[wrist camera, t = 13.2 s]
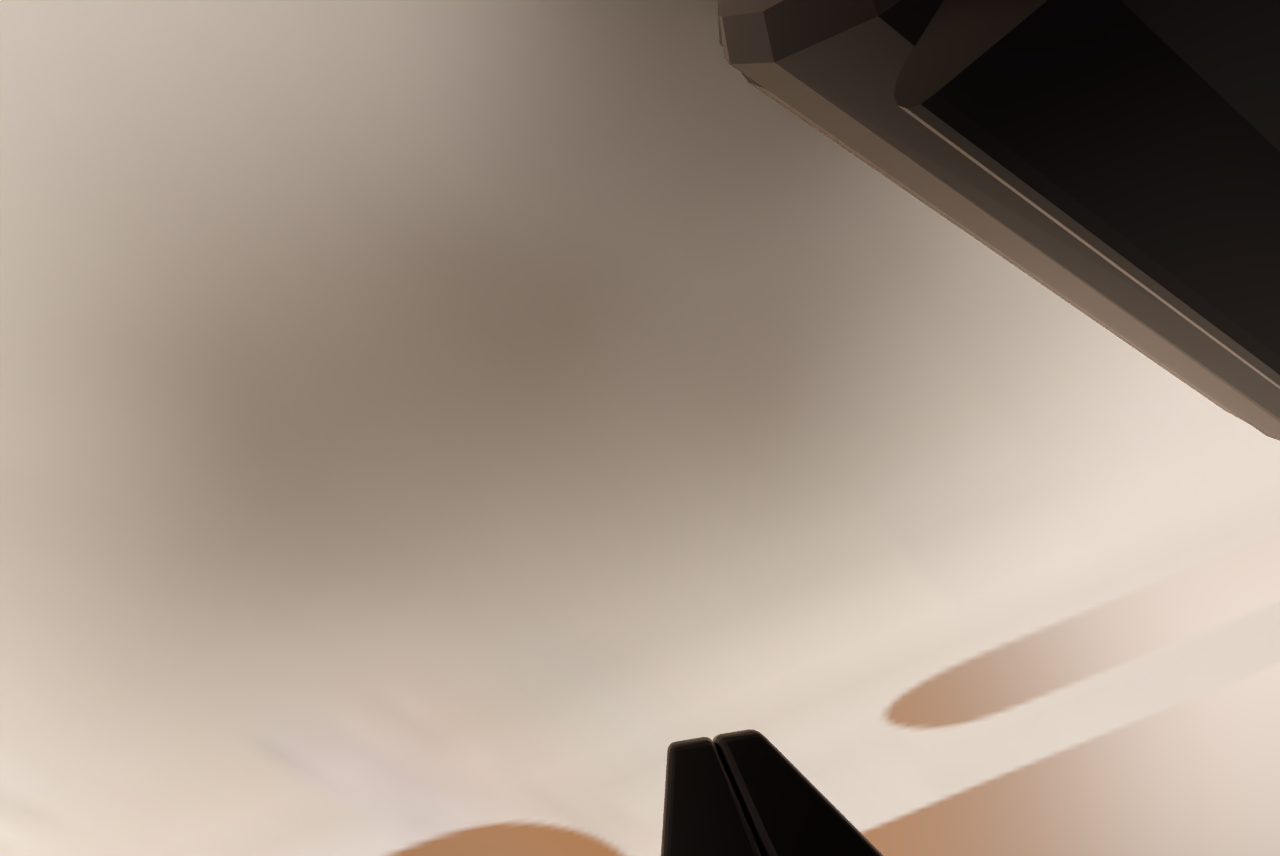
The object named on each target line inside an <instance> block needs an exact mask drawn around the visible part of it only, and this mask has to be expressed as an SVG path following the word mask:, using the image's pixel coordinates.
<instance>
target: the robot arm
mask: <svg viewBox="0 0 1280 856" xmlns="http://www.w3.org/2000/svg"><path fill="white" fill-rule="evenodd" d="M718 15H719V36H720V44H721V45H722V47H723V52H724V58H725V59H726V60H727V62H728V63H729V64H730V65H732V66H733V67H735V68H736V69H738V70H739V71H741V72H742V74H743V75H744V76H745V78H746V79H747V80H748V82H749V83H751V84H752V85H753V86H755V87H756V88H758V89H759V90H761V91H762V92H764V93H765V94H767V95H768V96H769V97H771V98H772V99H774V100H775V101H777V102H778V103H780V104H781V105H782V106H784V107H785V108H787V109H788V110H790V111H791V112H793V113H794V114H796V115H797V116H798V117H800V118H801V119H803V120H804V121H806V122H807V123H809V124H810V125H812V126H813V127H814V128H816V129H817V130H819V131H820V132H822V133H823V134H825V135H826V136H827V137H829V138H830V139H832V140H833V141H835V142H836V143H838V144H839V145H841V146H842V147H843V148H845V149H846V150H848V151H849V152H851V153H852V154H854V155H855V156H856V157H858V158H859V159H861V160H862V161H864V162H865V163H867V164H868V165H870V166H871V167H872V168H874V169H875V170H877V171H878V172H880V173H881V174H883V175H884V176H885V177H887V178H888V179H890V180H891V181H893V182H894V183H896V184H897V185H899V186H900V187H901V188H903V189H904V190H906V191H907V192H909V193H910V194H912V195H913V196H915V197H916V198H917V199H919V200H920V201H922V202H923V203H925V204H926V205H928V206H929V207H930V208H932V209H933V210H935V211H936V212H938V213H939V214H941V215H942V216H944V217H945V218H946V219H948V220H949V221H951V222H952V223H954V224H955V225H957V226H958V227H959V228H961V229H962V230H964V231H965V232H967V233H968V234H970V235H971V236H973V237H974V238H975V239H977V240H978V241H980V242H981V243H983V244H984V245H986V246H987V247H988V248H990V249H991V250H993V251H994V252H996V253H997V254H999V255H1000V256H1002V257H1003V258H1004V259H1006V260H1007V261H1009V262H1010V263H1012V264H1013V265H1015V266H1016V267H1018V268H1019V269H1020V270H1022V271H1023V272H1025V273H1026V274H1028V275H1029V276H1031V277H1032V278H1033V279H1035V280H1036V281H1038V282H1039V283H1041V284H1042V285H1044V286H1045V287H1047V288H1048V289H1049V290H1051V291H1052V292H1054V293H1055V294H1057V295H1058V296H1060V297H1061V298H1062V299H1064V300H1065V301H1067V302H1068V303H1070V304H1071V305H1073V306H1074V307H1076V308H1077V309H1078V310H1080V311H1081V312H1083V313H1084V314H1086V315H1087V316H1089V317H1090V318H1091V319H1093V320H1094V321H1096V322H1097V323H1099V324H1100V325H1102V326H1103V327H1105V328H1106V329H1107V330H1109V331H1110V332H1112V333H1113V334H1115V335H1116V336H1118V337H1119V338H1121V339H1122V340H1123V341H1125V342H1126V343H1128V344H1129V345H1131V346H1132V347H1134V348H1135V349H1136V350H1138V351H1139V352H1141V353H1142V354H1144V355H1145V356H1147V357H1148V358H1150V359H1151V360H1152V361H1154V362H1155V363H1157V364H1158V365H1160V366H1161V367H1163V368H1164V369H1165V370H1167V371H1168V372H1170V373H1171V374H1173V375H1174V376H1176V377H1177V378H1179V379H1180V380H1181V381H1183V382H1184V383H1186V384H1187V385H1189V386H1190V387H1192V388H1193V389H1194V390H1196V391H1197V392H1199V393H1200V394H1202V395H1203V396H1205V397H1206V398H1208V399H1209V400H1210V401H1212V402H1213V403H1215V404H1216V405H1218V406H1219V407H1221V408H1222V409H1224V410H1225V411H1227V412H1229V413H1231V414H1232V415H1234V416H1236V417H1238V418H1240V419H1242V420H1243V421H1245V422H1247V423H1249V424H1250V425H1252V426H1253V427H1255V428H1256V429H1258V430H1259V431H1261V432H1262V433H1263V434H1265V435H1266V436H1269V437H1272V438H1274V439H1277V440H1280V0H718ZM661 856H883V855H882V854H881V853H880V852H879V851H878V850H877V849H876V848H875V847H874V846H873V845H872V844H871V843H870V842H869V841H868V840H867V839H866V838H865V837H864V836H863V835H862V834H861V833H860V832H859V831H858V830H857V829H856V828H855V827H854V826H853V825H852V824H851V823H850V822H849V821H848V820H847V819H846V818H845V817H844V816H843V815H842V814H841V813H840V812H839V811H838V810H837V809H836V808H835V807H834V806H833V805H832V804H831V803H830V802H829V801H828V800H827V799H826V798H825V797H824V796H823V795H822V794H821V793H820V792H819V791H818V790H817V789H816V788H815V787H814V786H813V785H812V784H811V783H810V782H809V781H808V780H807V779H806V778H805V777H804V776H803V775H802V774H801V773H800V772H799V771H798V770H797V769H796V767H795V766H794V765H793V764H792V763H791V762H790V761H789V760H788V759H787V758H786V757H785V756H784V755H783V754H782V753H781V752H780V751H779V750H778V749H777V748H776V747H775V746H774V745H773V744H772V743H771V742H770V741H769V740H768V739H767V738H766V737H765V736H764V735H762V734H761V733H760V732H758V731H755V730H743V731H737V732H731V733H725V734H720V735H717V736H716V737H715V738H714V739H713V741H712V740H711V739H710V738H707V737H701V738H695V739H689V740H683V741H677V742H673V743H671V744H670V745H669V747H668V751H667V766H666V782H665V798H664V814H663V830H662V846H661Z"/></svg>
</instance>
